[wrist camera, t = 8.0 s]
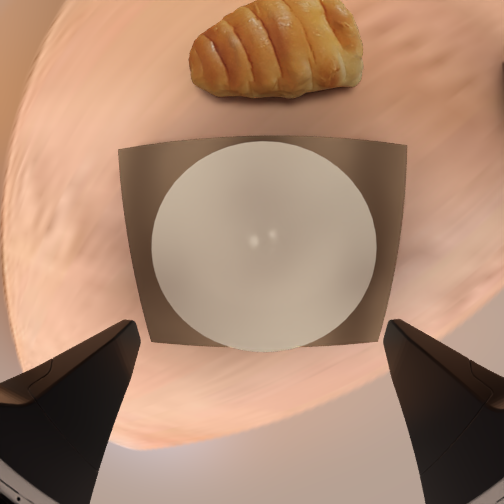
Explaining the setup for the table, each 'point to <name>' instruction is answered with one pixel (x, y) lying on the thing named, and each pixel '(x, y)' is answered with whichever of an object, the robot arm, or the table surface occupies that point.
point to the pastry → (279, 50)
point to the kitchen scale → (264, 238)
